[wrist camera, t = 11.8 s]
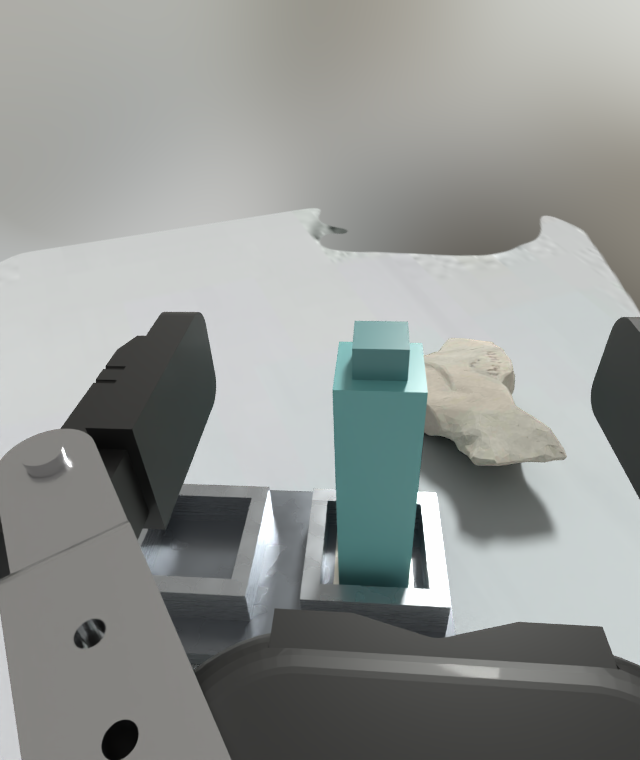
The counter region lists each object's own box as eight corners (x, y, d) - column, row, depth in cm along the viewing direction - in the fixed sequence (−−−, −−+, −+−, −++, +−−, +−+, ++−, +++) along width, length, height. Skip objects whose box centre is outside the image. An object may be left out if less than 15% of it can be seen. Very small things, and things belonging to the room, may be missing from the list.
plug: (339, 593, 31) (331, 358, 21) (343, 538, 34) (338, 312, 24) (407, 598, 30) (431, 360, 21) (405, 541, 33) (424, 313, 24)
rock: (354, 501, 39) (566, 499, 36) (348, 452, 36) (574, 446, 34) (367, 363, 57) (509, 355, 54) (363, 325, 55) (511, 315, 52)
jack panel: (99, 657, 29) (79, 622, 27) (167, 497, 39) (156, 462, 37) (457, 681, 28) (466, 645, 25) (435, 507, 37) (440, 470, 35)
